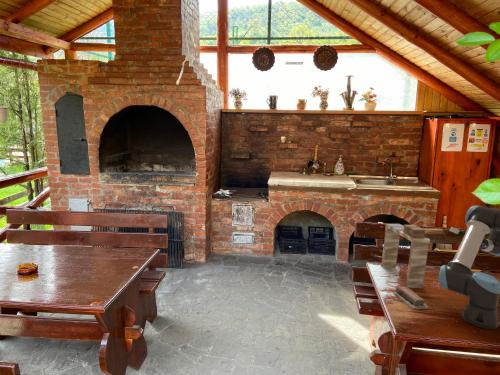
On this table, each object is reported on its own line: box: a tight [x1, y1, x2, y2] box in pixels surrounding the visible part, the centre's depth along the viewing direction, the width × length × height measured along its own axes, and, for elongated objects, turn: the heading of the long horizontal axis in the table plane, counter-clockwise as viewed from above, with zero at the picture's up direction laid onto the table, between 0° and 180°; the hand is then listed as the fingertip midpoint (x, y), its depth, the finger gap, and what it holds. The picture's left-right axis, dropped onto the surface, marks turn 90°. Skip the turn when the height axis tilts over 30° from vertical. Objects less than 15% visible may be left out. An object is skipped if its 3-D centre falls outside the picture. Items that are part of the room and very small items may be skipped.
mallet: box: [403, 224, 444, 238], centre depth 209 cm, size 10×22×5 cm, turn 98°
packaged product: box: [392, 285, 430, 310], centre depth 190 cm, size 18×5×10 cm
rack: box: [380, 223, 431, 289], centre depth 219 cm, size 32×10×30 cm, turn 8°
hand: (458, 233), depth 210 cm, fingers open, 13 cm apart
